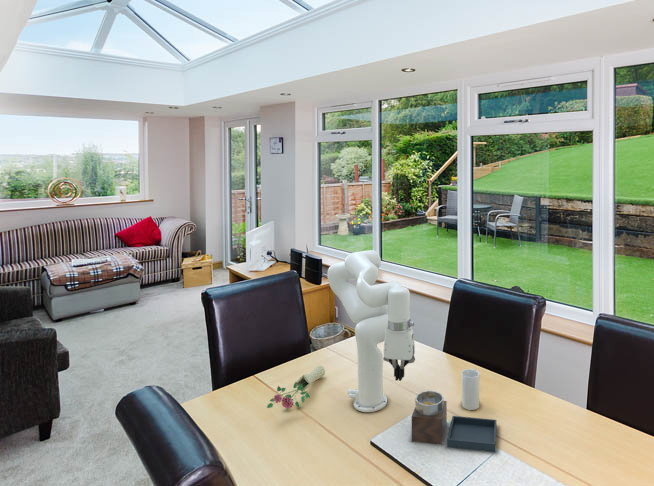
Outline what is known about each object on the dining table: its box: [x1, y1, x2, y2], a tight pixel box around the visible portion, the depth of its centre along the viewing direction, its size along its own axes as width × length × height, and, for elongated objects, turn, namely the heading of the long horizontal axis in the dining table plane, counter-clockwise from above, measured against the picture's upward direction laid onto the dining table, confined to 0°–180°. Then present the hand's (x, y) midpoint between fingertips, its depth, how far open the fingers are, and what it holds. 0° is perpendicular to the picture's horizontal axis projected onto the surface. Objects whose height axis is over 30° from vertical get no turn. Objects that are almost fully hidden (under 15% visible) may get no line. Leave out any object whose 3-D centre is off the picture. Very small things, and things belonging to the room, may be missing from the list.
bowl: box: [414, 390, 445, 416], centre depth 144 cm, size 9×9×4 cm
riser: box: [411, 400, 448, 445], centre depth 143 cm, size 10×11×8 cm
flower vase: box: [266, 365, 326, 411], centre depth 164 cm, size 12×12×35 cm
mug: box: [461, 368, 480, 411], centre depth 161 cm, size 10×7×12 cm, turn 159°
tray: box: [446, 415, 498, 453], centre depth 141 cm, size 15×13×2 cm
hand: (399, 378), depth 146 cm, fingers closed
